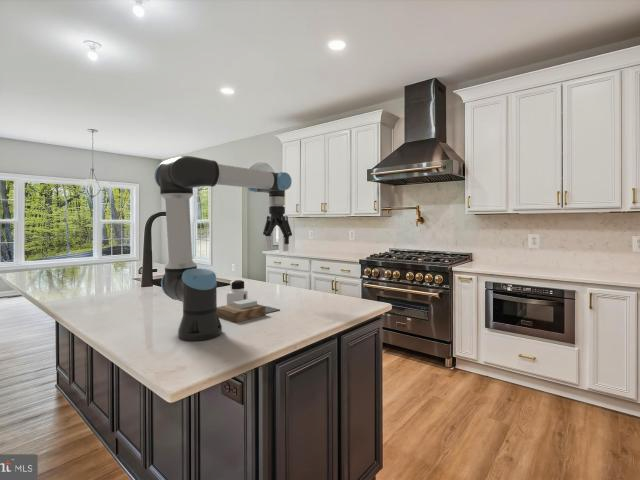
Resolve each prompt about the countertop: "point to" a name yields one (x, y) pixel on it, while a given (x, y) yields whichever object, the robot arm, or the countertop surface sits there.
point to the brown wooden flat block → (240, 312)
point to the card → (244, 303)
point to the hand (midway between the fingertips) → (277, 250)
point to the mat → (270, 309)
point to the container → (236, 292)
